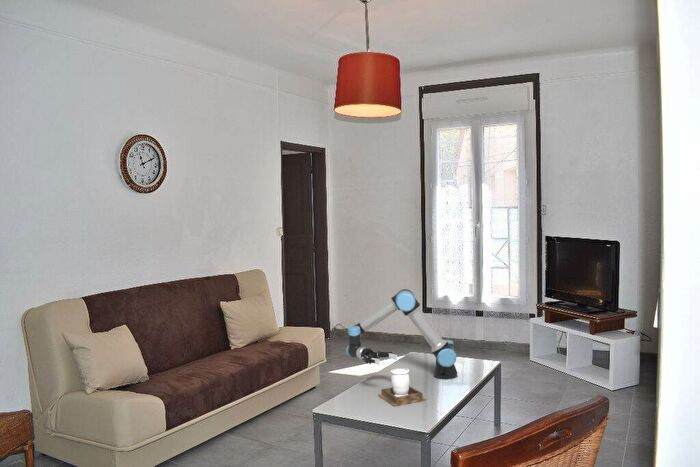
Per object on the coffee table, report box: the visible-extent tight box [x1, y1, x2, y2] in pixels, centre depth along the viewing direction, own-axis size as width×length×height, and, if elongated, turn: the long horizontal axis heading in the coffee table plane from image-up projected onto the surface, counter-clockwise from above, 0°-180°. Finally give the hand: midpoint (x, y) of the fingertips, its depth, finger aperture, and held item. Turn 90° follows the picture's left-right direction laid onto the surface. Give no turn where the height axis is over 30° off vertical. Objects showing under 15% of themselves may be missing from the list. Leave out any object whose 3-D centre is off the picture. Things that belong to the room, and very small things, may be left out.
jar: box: [390, 367, 411, 397], centre depth 311 cm, size 11×10×15 cm
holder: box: [377, 385, 427, 408], centre depth 311 cm, size 20×20×4 cm
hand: (388, 359), depth 319 cm, fingers open, 13 cm apart
